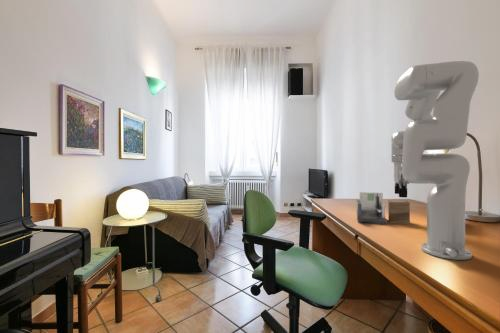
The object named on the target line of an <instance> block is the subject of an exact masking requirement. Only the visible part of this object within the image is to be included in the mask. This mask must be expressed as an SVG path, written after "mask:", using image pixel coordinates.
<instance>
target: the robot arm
mask: <svg viewBox="0 0 500 333" xmlns="http://www.w3.org/2000/svg"><path fill="white" fill-rule="evenodd" d="M479 72H480V71H479V68H478V66H477V64H475V63H473V62H471V61H467V60H466V61H465V60H455V61H454V60H453V61H443V62H435V63H428V64H427V63H426V64H425V63H424V64H417V65H414V66H411V67H409V68H408V70H406V71H405V72H404V73H403V74H402V75H401V76H400V77H399V79H398V80H397V82H396V84H395V86H394V91H393V93H394V97H395V99H396V100H397V101H408V102H407V104H406V107H405V110H404V113H405V116H406V117H407V118H408V119H410V120H412V121H410V122H409V124H408V125H407V126H406V128H405V130H402V131H397V132H395V133H392V135H391V163H393V181H394V194H396V195H398V197H399V198H408V185H409V184H414V185H415V184H421V185H422V184H424V185H425V184H429V185H431V184H432V185H433V186H432V188H431V189H430V190H429V192H428V194H427V197H426V242H424V243H421V247H420V248H421V250H422V251H423V252H424V253H427V254H429V255H432V256H434V257H438V258H442V259H447V260H456V261H457V260H458V261H460V260H461V261H463V260H464V261H466V260H470V259H472V258H473V253H472V252H471V250H469V249H467V248H466V194H467V193H466V192H467V184H468V180H469V175H470V168H471V165H470V162H469V161H468V158H466V157H465V156H464V155H461V154H459V153H451V152H450V153H448V152H447V153H442V152H441V153H424V152H425V151H438V150H440V151H443V150H455V149H459V148H461V147H463V145H464V144H465V143H466V140H467V135H468V125H469V117H470V116H469V115H470V108H471V107H470V106H471V101H472V100H473V99H472V98H473V95H474V93H475V90H476V88H477V86H478V83H479ZM442 91H443V92H442ZM441 92H442V93H441ZM440 93H441V94H440ZM431 113H432V114H431Z"/></svg>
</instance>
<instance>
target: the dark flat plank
mask: <svg viewBox="0 0 500 333" xmlns="http://www.w3.org/2000/svg"><path fill="white" fill-rule="evenodd" d="M377 209H379V196H377ZM377 217H379V213H378V212H377Z"/></svg>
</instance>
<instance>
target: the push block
mask: <svg viewBox="0 0 500 333" xmlns="http://www.w3.org/2000/svg"><path fill="white" fill-rule="evenodd" d="M410 203H411V202H410V201H408V200H389V199H388V202H387V204H388V210H387V211H388V222H389V223H390V224H392V223H393V224H402V225H403V224H404V225H410V224H411V212H410V211H411V210H410V208H411V204H410Z"/></svg>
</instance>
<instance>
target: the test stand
mask: <svg viewBox="0 0 500 333" xmlns="http://www.w3.org/2000/svg"><path fill="white" fill-rule="evenodd" d="M383 195H384V194H383V192H364V191H363V192H362V191H361V192H359V199H356V219H357V223H359V224H374V225H375V224H376V225H387V218H386V217H385V218H381V217H380V213H379V217H377V196H379V209H380V203H382V204H383V205H384V201H383V200H384V199H383V198H384V197H383Z"/></svg>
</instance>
